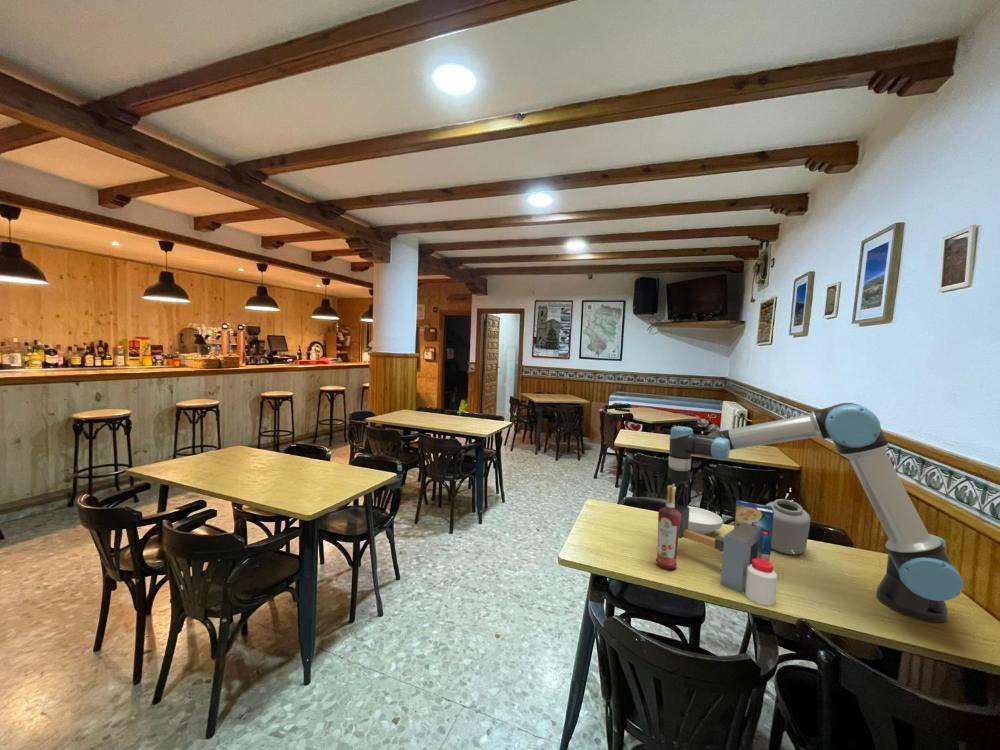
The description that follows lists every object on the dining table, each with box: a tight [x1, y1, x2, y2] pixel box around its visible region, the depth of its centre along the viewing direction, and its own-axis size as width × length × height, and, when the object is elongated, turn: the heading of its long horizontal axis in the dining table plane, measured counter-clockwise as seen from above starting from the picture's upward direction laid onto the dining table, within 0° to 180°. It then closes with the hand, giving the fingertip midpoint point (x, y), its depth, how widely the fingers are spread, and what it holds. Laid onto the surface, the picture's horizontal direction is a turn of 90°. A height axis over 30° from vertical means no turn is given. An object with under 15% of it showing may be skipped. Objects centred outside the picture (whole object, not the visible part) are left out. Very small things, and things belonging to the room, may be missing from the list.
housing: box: [720, 523, 764, 594], centre depth 134 cm, size 6×20×16 cm, turn 132°
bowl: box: [688, 506, 723, 536], centre depth 170 cm, size 20×20×7 cm
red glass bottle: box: [655, 484, 681, 570], centre depth 139 cm, size 7×7×28 cm
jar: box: [765, 487, 811, 562], centre depth 156 cm, size 19×15×25 cm
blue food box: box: [733, 499, 774, 563], centre depth 142 cm, size 7×11×22 cm, turn 61°
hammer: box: [676, 504, 724, 553], centre depth 145 cm, size 20×6×10 cm, turn 42°
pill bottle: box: [744, 558, 778, 607], centre depth 123 cm, size 8×8×11 cm
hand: (675, 529), depth 150 cm, fingers closed on hammer, 6 cm apart
